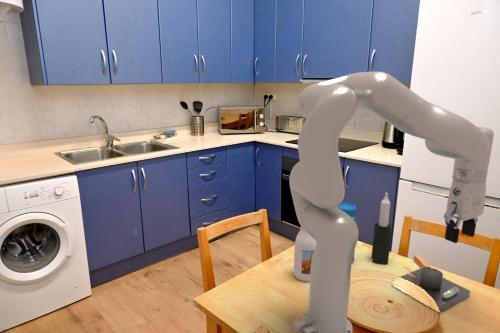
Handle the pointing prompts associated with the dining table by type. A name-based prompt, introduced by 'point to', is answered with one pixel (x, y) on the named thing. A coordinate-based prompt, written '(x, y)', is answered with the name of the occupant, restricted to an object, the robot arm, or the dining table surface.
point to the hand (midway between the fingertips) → (459, 237)
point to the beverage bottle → (351, 212)
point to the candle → (382, 235)
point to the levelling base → (441, 291)
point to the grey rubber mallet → (428, 274)
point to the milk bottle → (303, 255)
